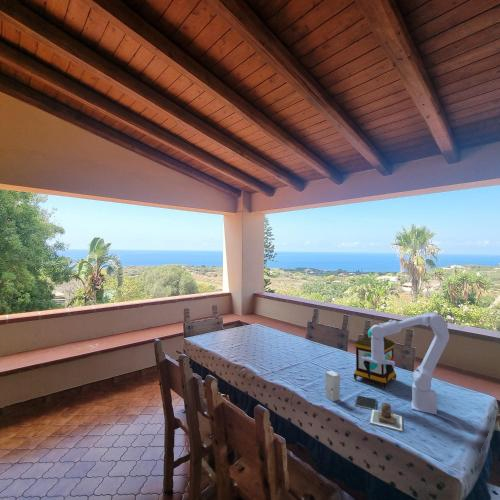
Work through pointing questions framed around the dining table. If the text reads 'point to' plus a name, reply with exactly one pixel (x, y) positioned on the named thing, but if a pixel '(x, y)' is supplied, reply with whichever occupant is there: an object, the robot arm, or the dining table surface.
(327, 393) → the skincare box
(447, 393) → the dining table surface
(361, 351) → the decorative lantern
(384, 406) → the stamp
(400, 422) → the marked board
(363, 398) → the ink pad
